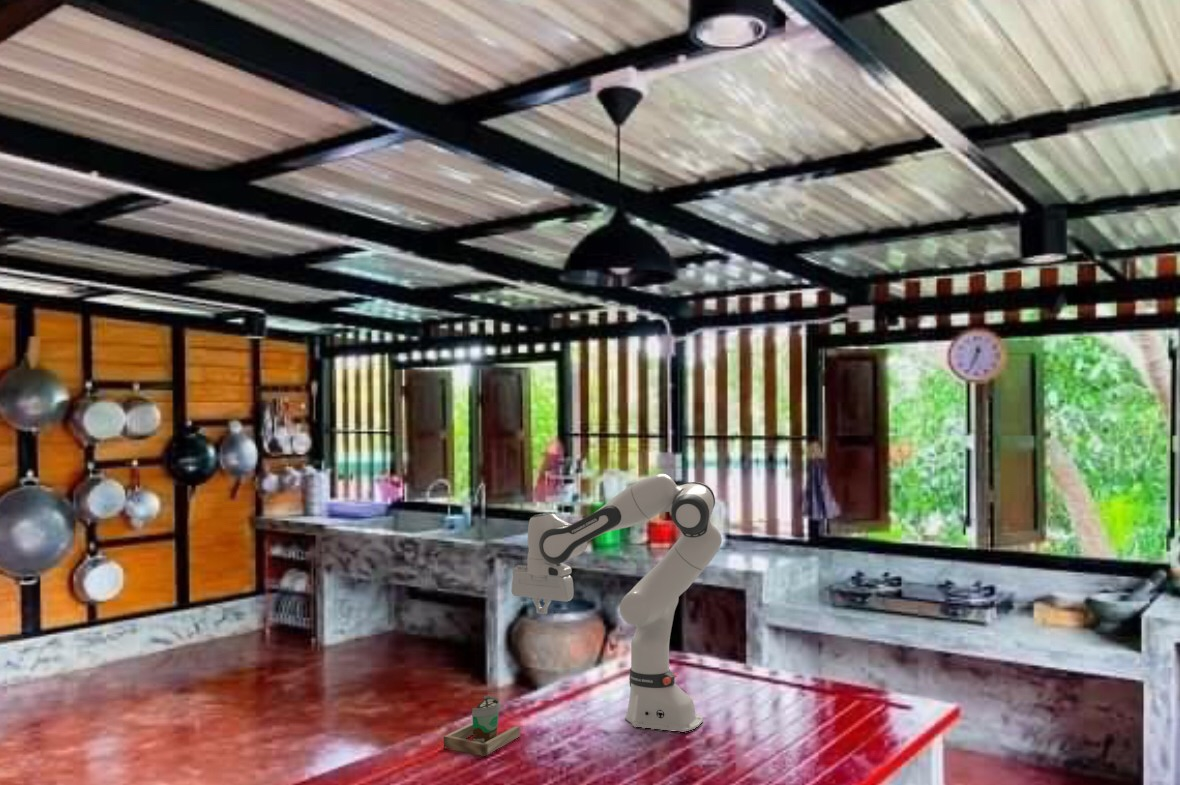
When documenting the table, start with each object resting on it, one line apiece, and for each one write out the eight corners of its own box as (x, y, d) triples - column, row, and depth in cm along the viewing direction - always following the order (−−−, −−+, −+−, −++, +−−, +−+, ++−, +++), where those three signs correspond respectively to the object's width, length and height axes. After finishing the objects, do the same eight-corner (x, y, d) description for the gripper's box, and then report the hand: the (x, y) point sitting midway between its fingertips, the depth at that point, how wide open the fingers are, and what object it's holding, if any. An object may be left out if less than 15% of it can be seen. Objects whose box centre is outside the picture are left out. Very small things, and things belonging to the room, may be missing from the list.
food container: (493, 748, 241) (494, 710, 241) (471, 746, 242) (471, 708, 242) (506, 732, 253) (506, 696, 254) (484, 731, 254) (485, 694, 255)
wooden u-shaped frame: (519, 737, 249) (519, 726, 249) (484, 757, 235) (484, 745, 235) (479, 729, 255) (479, 718, 256) (443, 747, 241) (443, 736, 241)
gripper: (507, 565, 275) (507, 611, 274) (565, 571, 265) (565, 619, 264) (519, 562, 280) (518, 607, 280) (576, 568, 270) (576, 615, 270)
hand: (541, 613), depth 272 cm, fingers closed
